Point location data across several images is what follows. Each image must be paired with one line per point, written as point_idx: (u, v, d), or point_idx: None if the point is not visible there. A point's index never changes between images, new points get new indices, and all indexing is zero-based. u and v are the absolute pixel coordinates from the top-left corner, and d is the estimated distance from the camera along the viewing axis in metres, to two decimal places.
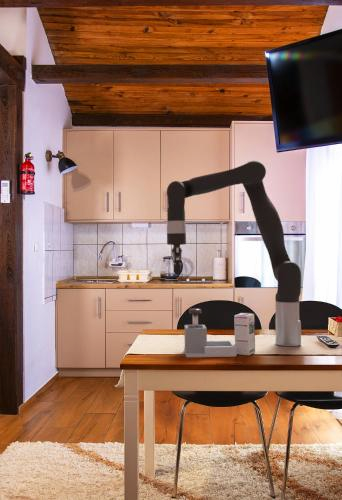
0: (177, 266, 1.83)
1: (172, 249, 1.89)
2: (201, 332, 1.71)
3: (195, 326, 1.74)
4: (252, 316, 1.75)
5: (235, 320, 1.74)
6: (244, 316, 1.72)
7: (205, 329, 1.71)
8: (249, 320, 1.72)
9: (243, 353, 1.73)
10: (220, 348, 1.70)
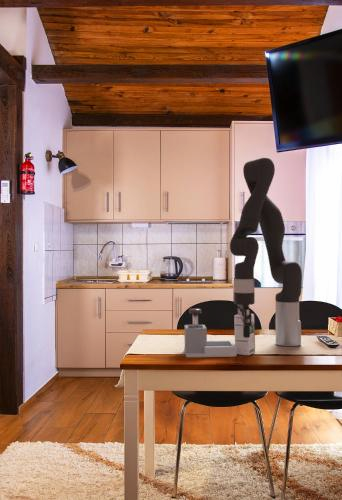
0: None
1: (239, 308, 1.76)
2: (201, 332, 1.71)
3: (195, 326, 1.74)
4: (252, 316, 1.75)
5: (235, 320, 1.74)
6: None
7: (205, 329, 1.71)
8: None
9: (243, 353, 1.73)
10: (220, 348, 1.70)
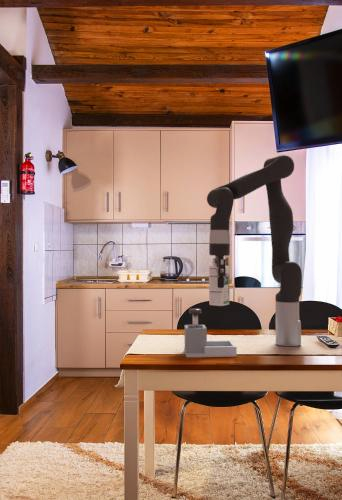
0: (220, 279, 1.70)
1: (214, 260, 1.76)
2: (201, 332, 1.71)
3: (195, 326, 1.74)
4: (227, 268, 1.74)
5: (209, 271, 1.74)
6: None
7: (205, 329, 1.71)
8: None
9: (217, 304, 1.72)
10: (220, 348, 1.70)
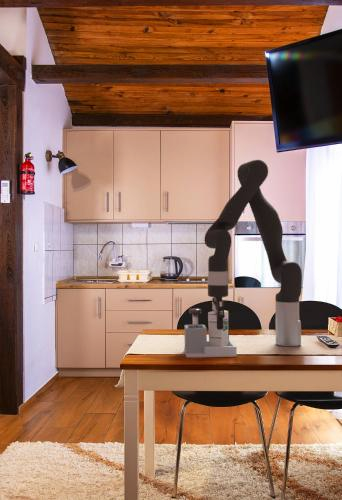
0: None
1: (213, 301, 1.76)
2: (201, 332, 1.71)
3: (195, 326, 1.74)
4: (226, 313, 1.75)
5: (209, 316, 1.74)
6: None
7: (205, 329, 1.71)
8: None
9: None
10: (220, 348, 1.70)
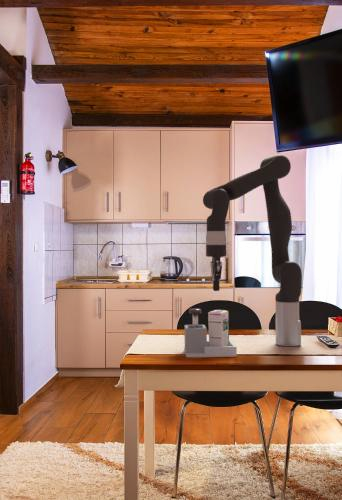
0: (216, 282, 1.74)
1: None
2: (201, 332, 1.71)
3: (195, 326, 1.74)
4: (226, 313, 1.75)
5: (209, 316, 1.74)
6: (218, 313, 1.72)
7: (205, 329, 1.71)
8: (222, 316, 1.72)
9: None
10: (220, 348, 1.70)
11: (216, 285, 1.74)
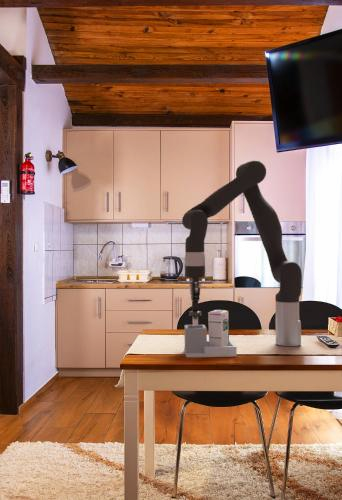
0: (195, 303, 1.74)
1: (190, 282, 1.76)
2: (201, 332, 1.71)
3: None
4: (226, 313, 1.75)
5: (209, 316, 1.74)
6: (218, 313, 1.72)
7: (205, 329, 1.71)
8: (222, 316, 1.72)
9: None
10: (220, 348, 1.70)
11: (195, 306, 1.73)
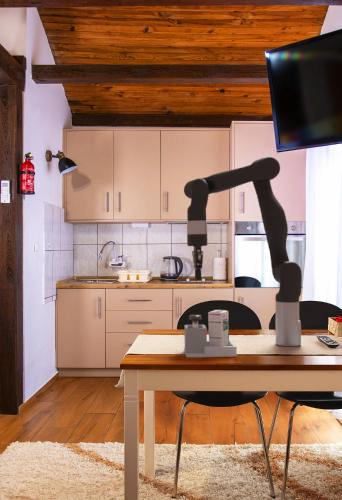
0: None
1: (192, 251, 1.78)
2: (201, 332, 1.71)
3: None
4: (226, 313, 1.75)
5: (209, 316, 1.74)
6: (218, 313, 1.72)
7: (205, 329, 1.71)
8: (222, 316, 1.72)
9: None
10: (220, 348, 1.70)
11: (198, 274, 1.75)
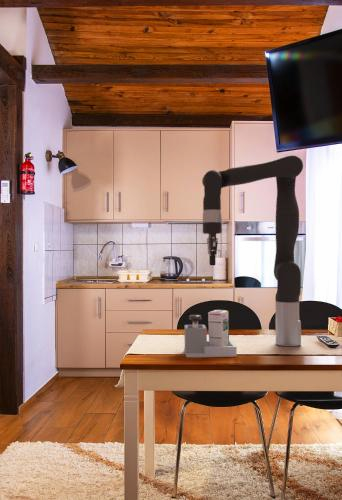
0: (212, 257, 1.88)
1: (207, 238, 1.90)
2: (201, 332, 1.71)
3: None
4: (226, 313, 1.75)
5: (209, 316, 1.74)
6: (218, 313, 1.72)
7: (205, 329, 1.71)
8: (222, 316, 1.72)
9: None
10: (220, 348, 1.70)
11: (212, 260, 1.87)
